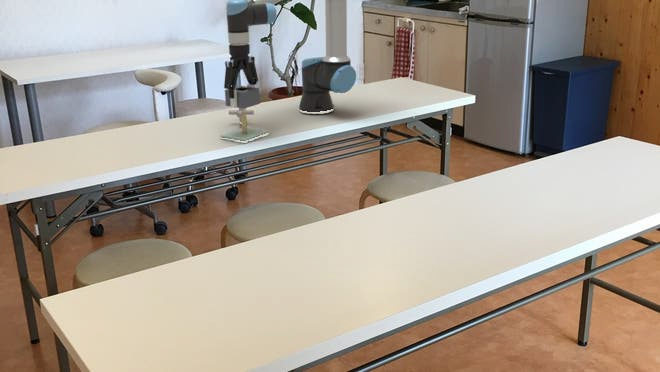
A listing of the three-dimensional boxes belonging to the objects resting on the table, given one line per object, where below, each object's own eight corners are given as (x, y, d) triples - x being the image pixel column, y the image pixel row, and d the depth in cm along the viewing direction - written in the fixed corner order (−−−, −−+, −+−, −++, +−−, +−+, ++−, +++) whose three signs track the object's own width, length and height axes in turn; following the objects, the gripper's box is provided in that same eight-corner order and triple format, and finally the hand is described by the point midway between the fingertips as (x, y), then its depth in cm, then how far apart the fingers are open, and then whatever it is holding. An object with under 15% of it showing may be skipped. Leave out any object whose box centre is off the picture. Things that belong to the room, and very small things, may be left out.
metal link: (241, 101, 272) (240, 85, 270) (259, 103, 267) (259, 88, 265) (225, 105, 265) (224, 90, 263) (243, 108, 260) (242, 92, 258)
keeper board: (245, 130, 279) (243, 108, 276) (268, 135, 272) (267, 112, 269) (220, 139, 268) (219, 116, 265) (244, 143, 261) (243, 120, 258)
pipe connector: (256, 121, 292) (255, 97, 289) (251, 127, 283) (250, 103, 280) (232, 121, 293) (231, 97, 290) (227, 127, 284) (225, 103, 281)
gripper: (250, 39, 268) (254, 97, 276) (210, 47, 252) (215, 108, 259) (266, 40, 264) (268, 99, 272) (226, 48, 248) (230, 111, 255)
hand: (242, 104), depth 266 cm, fingers closed on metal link, 9 cm apart
